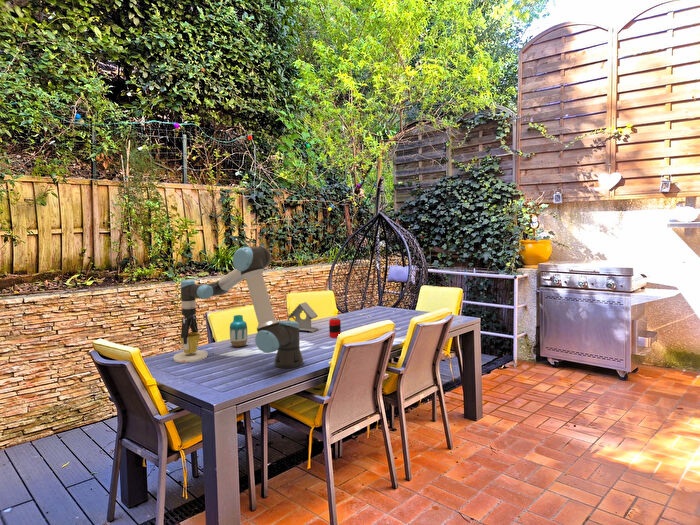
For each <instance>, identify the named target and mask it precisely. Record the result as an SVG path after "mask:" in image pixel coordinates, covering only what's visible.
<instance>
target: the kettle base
mask: <svg viewBox="0 0 700 525" xmlns="http://www.w3.org/2000/svg"><path fill="white" fill-rule="evenodd" d="M207 356H208V351H206V350H201V349H197V351H196V352H194V353H184V351H180V352H177V353H176V354H174V355H173V362H175V363H179V364H181V363H182V364H183V363H185V364H187V362H190V363H195V361H197V362H200V361H199V360H201V361H203V360H202V359H204V360H206V359H208V357H207ZM205 358H206V359H205Z"/></svg>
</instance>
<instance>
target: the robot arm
mask: <svg viewBox="0 0 700 525" xmlns="http://www.w3.org/2000/svg"><path fill="white" fill-rule="evenodd" d="M271 262H272V254H271V252H270V251H269V249H268V248H267V247H264V246H262V245H261V246H259V245H258V246H245V247H240V248H238V249H237V250H236V251H234V254H233V256H232V264H233V268H234V269H233V270H232V271H230V272H228V273H227V274H226V275H224V276H222V278H220V279H219V280H217V281H215V282H209V283H203V284H196V282H195V280H193V279H186V280H182V281H180V301H181V302H180V304H181V315H182V316H183V317H184V319H181V329H180V330H181V332H180V333H181V334H180V335H181V338H183V346H182V349H183V351H184V350H189V339H188V333H190V331H191V333H199V328H198V322H197V315H196V314H197V308H196V307H197V301H196V300H197V299H201V300H205V299H206V300H208V299H210V298H211V297H217V296H223V295H225V294H227V293H229V291H230V289H232V288H233V287H234V286H237V285H238V284H239V283H241V282H242V281H244V280H245V282H246V285H247V288H248V291H249V295H250V298H251V302H252V305H253V309H254V312H255V316H256V320H257V323H258V325H257V327H256V331H257V333H256V334H255V338H254V342H255V345H256V347H257V348H258V350H259V351H261V352H263V353H266V354H270V353H275V352H276V355H275V356H274V357H275V358H274V366H275V367H276V368H280V369H293V368H299V367H301V366H303V365H304V357H303V355H302V351H301V349H300V345H301V344H300V330H299V329H300V328H299V323H298V322H296V321H295V320H278V319H276V317H275V313H274V311H273V306H272V302H271V300H270V297H269V296H270V295H269V292H268V289H267V285H266V282H265V279H264V275H263V273H264V271H265V269H266V268H267V267H268V266H269V265H270V264H271Z"/></svg>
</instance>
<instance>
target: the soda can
mask: <svg viewBox="0 0 700 525" xmlns="http://www.w3.org/2000/svg"><path fill="white" fill-rule="evenodd" d="M328 321H329V322H328V324H329V327H328V328H329V332H328V333H329V335H328V336H329V338H332V339H337V336H338V334H340V333H341V334H342V332H341V331H342V330H341V327H342V326H341V324H342V323H341V319H340V318H338V317H332V318H330V320H328Z"/></svg>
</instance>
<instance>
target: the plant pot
mask: <svg viewBox="0 0 700 525" xmlns="http://www.w3.org/2000/svg"><path fill="white" fill-rule="evenodd" d="M200 338H201V337H200V333H199V332H198V333H192V332H188V339H189V350H184V349H183V352H184V353H194V352H196V351H197V350H198V346H199V341H200ZM179 341H180V343H181V346H182V347H183V338H181V334H179Z"/></svg>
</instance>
